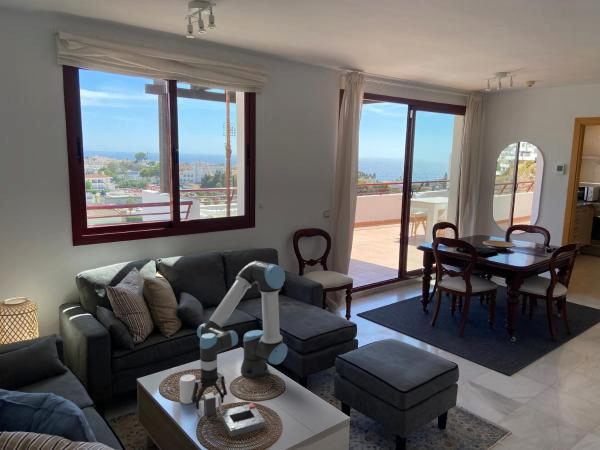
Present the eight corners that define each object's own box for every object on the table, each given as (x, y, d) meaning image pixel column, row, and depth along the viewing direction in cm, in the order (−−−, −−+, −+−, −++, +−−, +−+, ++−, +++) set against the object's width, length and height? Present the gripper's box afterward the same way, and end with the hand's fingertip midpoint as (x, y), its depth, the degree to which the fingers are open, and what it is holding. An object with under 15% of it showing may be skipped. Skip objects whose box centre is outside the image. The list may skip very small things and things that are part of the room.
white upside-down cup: (192, 405, 215) (191, 382, 213) (177, 403, 216) (176, 380, 214) (199, 396, 222) (199, 374, 221) (184, 395, 224) (183, 372, 222)
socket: (252, 408, 213) (252, 401, 212) (265, 427, 198) (265, 419, 198) (219, 417, 205) (219, 410, 205) (230, 437, 191) (230, 429, 191)
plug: (213, 408, 212) (213, 392, 211) (216, 413, 208) (215, 397, 207) (204, 411, 210) (203, 394, 209) (206, 416, 206) (206, 399, 205)
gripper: (229, 359, 214) (229, 402, 217) (183, 368, 204) (184, 413, 208) (234, 365, 207) (234, 410, 211) (187, 375, 198) (188, 422, 201)
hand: (209, 411), depth 209 cm, fingers open, 9 cm apart
